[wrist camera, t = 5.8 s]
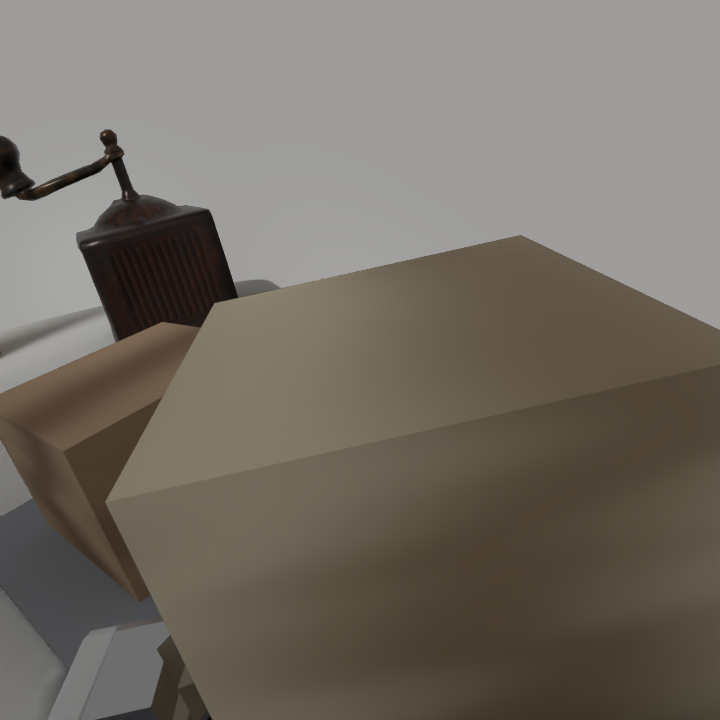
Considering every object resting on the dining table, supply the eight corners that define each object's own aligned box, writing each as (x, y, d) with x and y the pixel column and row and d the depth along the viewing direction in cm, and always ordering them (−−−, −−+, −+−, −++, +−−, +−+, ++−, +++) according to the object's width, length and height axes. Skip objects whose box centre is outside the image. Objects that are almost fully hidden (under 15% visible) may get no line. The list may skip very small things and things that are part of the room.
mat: (-32, 545, 23) (-37, 539, 23) (182, 418, 30) (179, 412, 30) (154, 776, 13) (148, 766, 13) (412, 501, 20) (410, 492, 20)
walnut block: (48, 524, 23) (-21, 402, 20) (202, 428, 28) (162, 321, 26) (139, 602, 18) (63, 451, 15) (308, 466, 23) (270, 337, 20)
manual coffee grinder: (215, 294, 56) (154, 107, 49) (247, 315, 46) (178, 88, 39) (56, 346, 50) (-40, 142, 43) (56, 382, 41) (-66, 129, 33)
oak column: (380, 1060, 8) (104, 501, 4) (354, 731, 13) (214, 303, 9) (693, 989, 8) (769, 354, 4) (556, 685, 13) (520, 234, 9)
